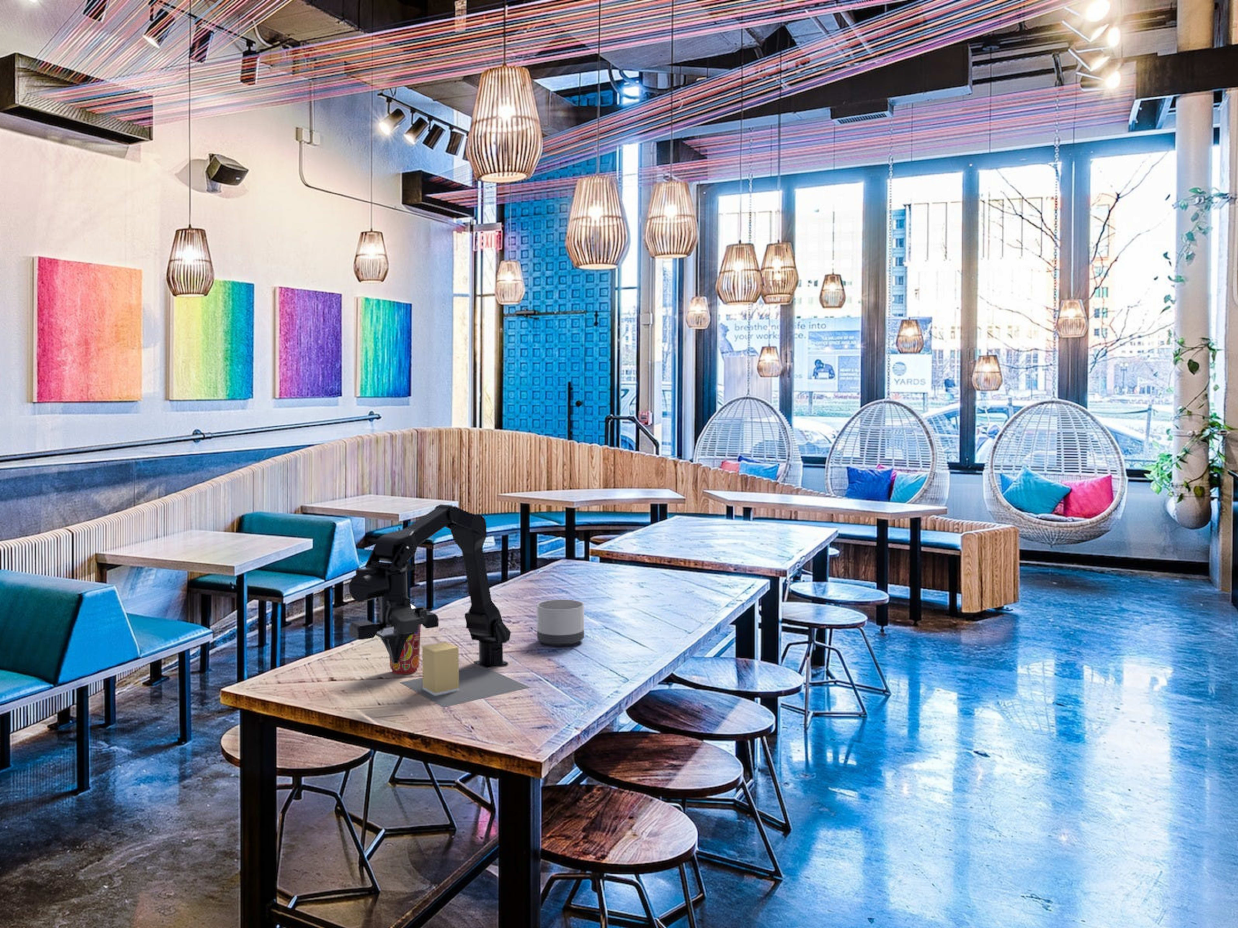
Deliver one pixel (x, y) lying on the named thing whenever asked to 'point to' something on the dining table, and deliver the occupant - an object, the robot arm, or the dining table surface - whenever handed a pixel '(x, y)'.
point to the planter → (560, 622)
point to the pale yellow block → (440, 668)
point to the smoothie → (408, 655)
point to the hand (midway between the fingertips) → (395, 663)
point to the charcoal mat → (470, 686)
